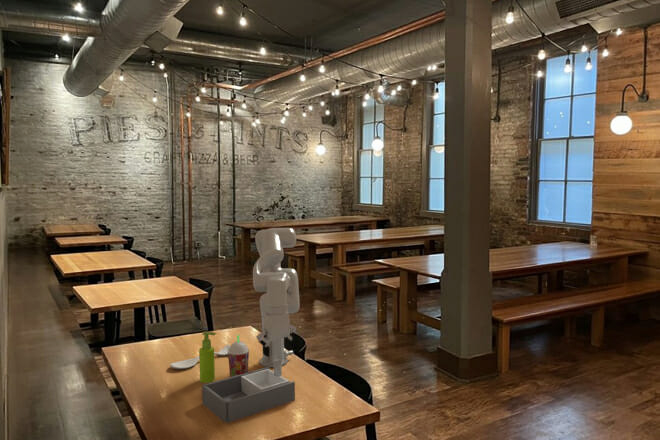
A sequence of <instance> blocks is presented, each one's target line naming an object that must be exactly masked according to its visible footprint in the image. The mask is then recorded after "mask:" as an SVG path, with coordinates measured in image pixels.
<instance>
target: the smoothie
mask: <svg viewBox="0 0 660 440" xmlns="http://www.w3.org/2000/svg"><path fill="white" fill-rule="evenodd" d="M236 337H237V341H234V342H233V343H232V344H231V345H229V346H230V348H229V350H228V355H227V357H228V358H227V359H228V366H229V367H228V369H229V370H228V371H229V378H230V377H233V376H237V375H241V374H244V373H248V372H249V361H250V360H249V358H250V357H249V356H250V349H249V348H248V345H247V344H246V343H245V342H243V341H240V334H237V335H236Z"/></svg>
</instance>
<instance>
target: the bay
mask: <svg viewBox="0 0 660 440" xmlns="http://www.w3.org/2000/svg"><path fill="white" fill-rule="evenodd" d="M266 369H270V367H264V368H259V369H256V370H252V371H248V373H244V374H241V375H237V376H233V377H230V376H229V377H227V378H224V379H220V380H216V381H215V380H214V381H213V382H210V383H203V384H201V394H202V395H201V402H202V405H204V407H206V408H207V409H208V410H209V411H211V412H212V413H213V414H214V415H215V416H217V417H218V418H219V419H220V420H221V421H223V422H224V423H225V424H228V423H229V424H230V423H233V422H235V421H238V420H241V419H243V418H247V417H249V416H253V415H255V414H256V415H257V414H258V413H262V412H264V411H267V410H271V409H273V408H276V407H279V406H283V405H285V404H288V403H291V402H294V401H296V382H295V380H294V381H293V380H292V381H289V383H286V384H283V385H279V386H276V387H273V388H270V389H266V390H263V391H260V392H257V393H253V394H250V395H246V394H245V393H244V392H242V390H241V376H244V375H248V374H252V373H255V372H259V371H262V370H266Z"/></svg>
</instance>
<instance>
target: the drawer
mask: <svg viewBox="0 0 660 440" xmlns="http://www.w3.org/2000/svg"><path fill="white" fill-rule="evenodd" d="M282 368H283V367H282V365H281V360H274V367H273V370H271V369H270V368H269V369H266V370H262V371H259V372H255V373H252V374H248V375H244V376H241V390H242V392H244V393H245V394H246V395H250V394H253V393H257V392H260V391H263V390H266V389H270V388H273V387H276V386H279V385H283V384H286V383H289V382H290V379H287V378H285V377H284V376H282Z"/></svg>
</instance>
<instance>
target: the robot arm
mask: <svg viewBox="0 0 660 440" xmlns="http://www.w3.org/2000/svg"><path fill="white" fill-rule="evenodd" d="M295 231H296V230H294V228H293V227H271V228H268V229H260V230H258V231H257V232H256V233H255V238H254V239H255V245H256V249H257V252H258V254H259V258H257V260H256V261H255V264H254V266H253V269H252V284H253V288H254V291H256V292H258V293H259V292H260V293H264V294H262V295H261V296H260V297H259V308H260V314H261V315H260V316H261V328H262V329H261V330H262V331H261V332H260V333H259V334H257V335H256V340H257V341H258V343H259V344H261V346H262V357H261V358H259V360H258V361H259V362H258V364H259V365H260V366H262V367H264V368H266V367H269V368H274V360H281V365H282V366H285V365H287V363H288V361H289V359H288V358H287V357H288V356H291V355H294V350H292V341H293V339H294V336H295V335H296V332H297V328H298V327H296V326H295V325H292V324H291V321H290V315H289V314H295V313H298V312H299V310H300V306H301V305H300V291H299V289H300V288H299V278H298V277H299V276H298V272H297V271H296V269H294V268H291V267H289V268H287V267H286V268H284V267H283V268H282V267H281V266H282V265H281V263H282V261H283V259H284V256H285V253H284V249H288V248H289V249H290V248H294V247H295V246H296V244H297V235H296V232H295Z"/></svg>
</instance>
